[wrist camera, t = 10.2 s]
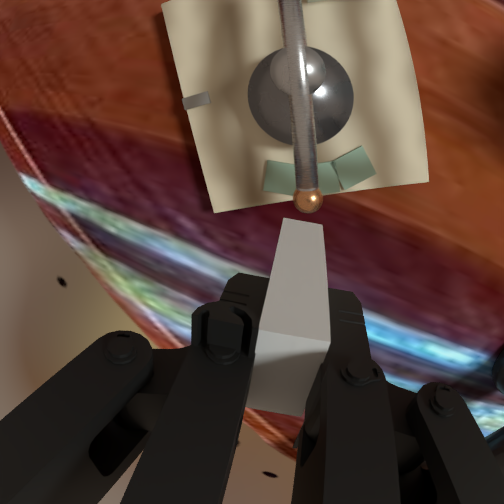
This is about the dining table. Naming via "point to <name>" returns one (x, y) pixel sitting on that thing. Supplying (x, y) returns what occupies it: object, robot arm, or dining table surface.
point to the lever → (300, 100)
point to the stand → (263, 145)
